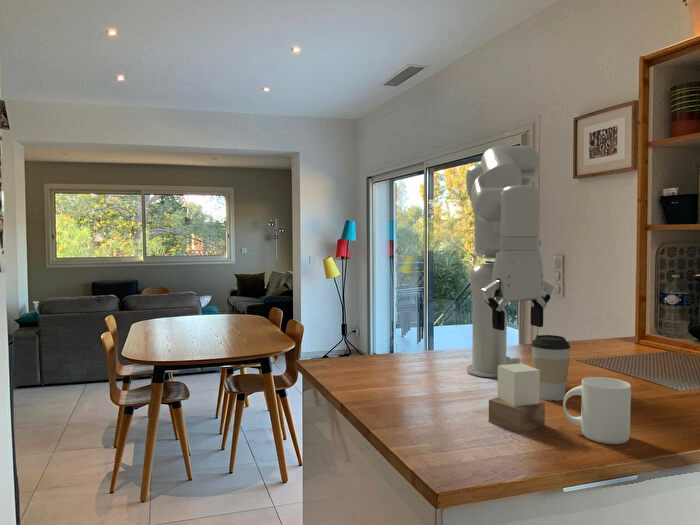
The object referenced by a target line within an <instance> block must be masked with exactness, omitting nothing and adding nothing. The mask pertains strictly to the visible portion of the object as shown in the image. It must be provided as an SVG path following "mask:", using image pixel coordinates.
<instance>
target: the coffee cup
mask: <svg viewBox="0 0 700 525" xmlns="http://www.w3.org/2000/svg"><path fill="white" fill-rule="evenodd" d="M566 339H567V338H565V337H564V336H561V335H552V334H540V335H539V334H536V336H535V338H534V339H533V340H532V341H531V342H532V343H531V344H530V345H531V348H532V350H531V351H532V354H531V357H532V358H531V359H532V361H531V362H532V367H533V368H536V369H538V370H540V387H539V399H541V400H544V399H545V400H546V401H552V400H555V401H562V400H564V397H565V395H566V389H567V382H568V375H569V374H568V373H569V364H570V349H571V345H570V343H569V341H567V340H566Z"/></svg>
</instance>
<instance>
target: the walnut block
mask: <svg viewBox="0 0 700 525" xmlns="http://www.w3.org/2000/svg"><path fill="white" fill-rule="evenodd" d="M545 417H546V402H544V401H543V400H542V401H541V400H539V404H532V405H523V406H512V405H510V404H508V403H506V402H504V401H503V400H501V399H499V398H497V397H494V398H489V399H488V422H489V423H490V424H493V425H495V426H499V427H502V428H504V429H506V430H510V431H513V432H516V433H518V434H522V433H525V432H529V431H531V430H535V429H537V428H540V426H541V427H543V426H545V424H546V420H545Z"/></svg>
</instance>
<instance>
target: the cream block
mask: <svg viewBox="0 0 700 525" xmlns="http://www.w3.org/2000/svg"><path fill="white" fill-rule="evenodd" d="M539 387H540V370H538V369H536V368H533V366H530V365H527V364H525V363H523V362H522V363H521V362H520V364H509V365H498V377H497V397H496V398H499V399H501V400H503V401H504V402H506V403H508V404H510V405H512V406H523V405H532V404H539V401H540V398H539Z"/></svg>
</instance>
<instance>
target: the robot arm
mask: <svg viewBox="0 0 700 525" xmlns="http://www.w3.org/2000/svg"><path fill="white" fill-rule="evenodd" d="M538 152H539V151H537V150H536V148H535V147H533V146H531V145H500V146H494V147H490V148H488V149H487V150H485V152H484V153H483V154H482V157H481V159H480V163H478V164H473V165H471V166H470V167H469V168H468V169H467V171H466V174H465V183H466V190H467V194H468V197H469V200H470V203H471V207H472V211H473V216H474V218H473V219H474V221H473V222H474V225H473V226H474V249H475V254H476V256H478V257H479V258H481V259H487V260H491V259H492V260H494V263H492V262H491V263H490V262H489V263H480V264H478V265H475V266H473V267H472V268H471V270H470V272H469V284H470V292H471V300H472V352H471V353H472V360H471V362H472V364H469V365H468V366H467V367H466V371H467V373H468V374H470V375H473V376H476V377H481V378H482V377H483V378H498V365H509V364H521V359H520V357H512V358H511V357H510V356H507V337H508V336H507V335H508V334H507V333H508V332H507V324H508V323H507V321H508V320H507V319H508V318H507V310H506V309H505V307H506V305H507V303H508V302H522V301H530V302H531V304H532V306H531V307H530V325H531V326H534V327H538V328H543V327H544V309H545V308H547V303H549V301H550V300H551V296H552V293H553V291H554V286H553V285H552V284H550V283H549V282H547V281H545V280H544V270H543V269H544V268H543V267H544V266H543V262H542V256H541V252H539V247H541V246H542V240H540V239H539V236H540V235H539V232H540V231H539V228H540V221H539V220H540V212H541V211H540V210H541V209H540V208H541V198H540V191H539V188H537V187H536V186H534V185H532V184H533V183H534V181H535V179H537V175H538V173H539V171H540V161H541V160H540V155H539V153H538Z"/></svg>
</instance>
